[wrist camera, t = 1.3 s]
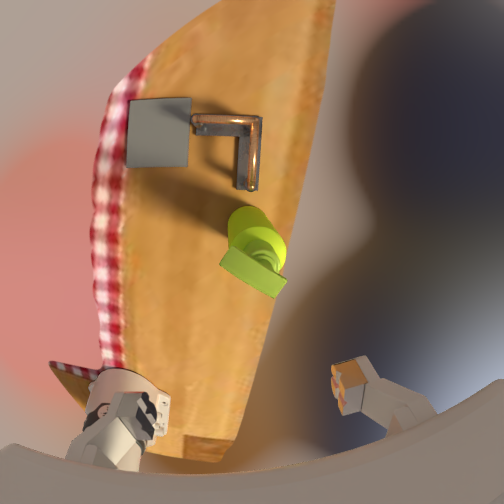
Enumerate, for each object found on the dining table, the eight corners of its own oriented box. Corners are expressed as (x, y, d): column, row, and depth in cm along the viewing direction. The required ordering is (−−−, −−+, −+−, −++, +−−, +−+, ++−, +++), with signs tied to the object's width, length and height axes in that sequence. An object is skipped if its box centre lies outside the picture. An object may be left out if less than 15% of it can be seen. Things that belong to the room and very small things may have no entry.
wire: (257, 190, 40) (263, 195, 34) (192, 187, 39) (186, 192, 33) (262, 117, 37) (268, 110, 30) (196, 115, 36) (190, 106, 29)
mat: (187, 166, 38) (187, 166, 37) (127, 167, 37) (126, 167, 36) (191, 98, 35) (191, 97, 34) (131, 101, 34) (130, 100, 33)
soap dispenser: (236, 193, 40) (247, 225, 21) (275, 220, 41) (317, 272, 22) (213, 227, 41) (204, 286, 22) (253, 252, 43) (274, 325, 24)
